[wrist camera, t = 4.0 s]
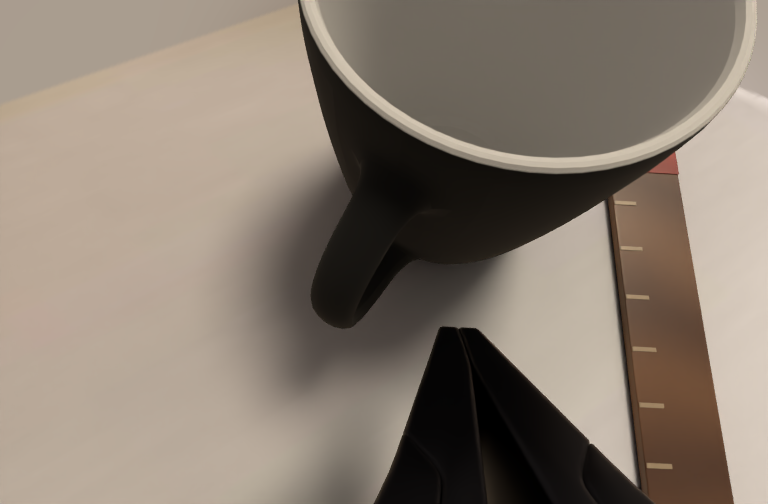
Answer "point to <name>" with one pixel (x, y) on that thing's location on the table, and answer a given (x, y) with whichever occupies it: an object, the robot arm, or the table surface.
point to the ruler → (666, 345)
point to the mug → (500, 119)
